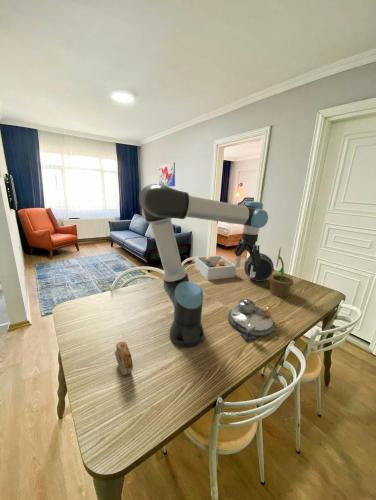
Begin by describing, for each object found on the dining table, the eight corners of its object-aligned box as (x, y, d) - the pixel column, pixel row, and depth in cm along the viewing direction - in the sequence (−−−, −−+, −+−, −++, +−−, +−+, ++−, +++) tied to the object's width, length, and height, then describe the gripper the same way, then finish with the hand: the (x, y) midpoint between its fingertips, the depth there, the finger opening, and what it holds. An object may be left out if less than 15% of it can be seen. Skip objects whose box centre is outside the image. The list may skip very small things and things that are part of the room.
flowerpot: (267, 286, 145) (275, 244, 136) (290, 291, 139) (300, 248, 130) (265, 294, 132) (273, 249, 123) (290, 301, 126) (300, 254, 118)
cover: (243, 315, 102) (245, 305, 101) (234, 307, 110) (236, 297, 108) (256, 313, 105) (258, 303, 104) (247, 304, 112) (249, 295, 111)
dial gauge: (245, 341, 91) (248, 327, 88) (240, 335, 94) (242, 321, 92) (255, 339, 92) (257, 324, 90) (249, 333, 96) (252, 319, 94)
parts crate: (207, 280, 148) (208, 268, 146) (194, 267, 170) (195, 257, 167) (234, 276, 156) (236, 265, 154) (219, 265, 178) (220, 255, 175)
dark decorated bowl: (272, 284, 147) (277, 258, 141) (243, 280, 151) (246, 254, 145) (269, 278, 157) (274, 253, 151) (242, 275, 161) (245, 250, 155)
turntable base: (244, 341, 90) (245, 338, 90) (220, 313, 110) (220, 309, 109) (284, 332, 98) (285, 328, 97) (254, 307, 118) (255, 304, 117)
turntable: (235, 330, 94) (237, 318, 92) (227, 306, 113) (228, 295, 111) (279, 332, 94) (282, 320, 92) (264, 307, 113) (266, 297, 111)
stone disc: (135, 376, 71) (134, 353, 68) (124, 382, 69) (123, 357, 66) (124, 356, 79) (123, 334, 76) (114, 360, 77) (113, 338, 74)
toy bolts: (226, 269, 170) (228, 255, 166) (225, 278, 154) (226, 262, 150) (204, 266, 174) (205, 252, 170) (201, 274, 158) (202, 259, 154)
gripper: (274, 238, 95) (265, 281, 101) (242, 228, 117) (237, 263, 124) (260, 239, 93) (252, 282, 99) (231, 228, 115) (226, 264, 121)
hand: (244, 272), depth 111 cm, fingers open, 13 cm apart
